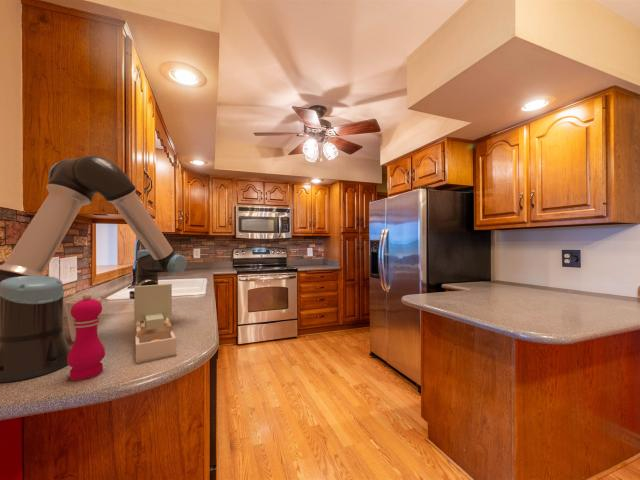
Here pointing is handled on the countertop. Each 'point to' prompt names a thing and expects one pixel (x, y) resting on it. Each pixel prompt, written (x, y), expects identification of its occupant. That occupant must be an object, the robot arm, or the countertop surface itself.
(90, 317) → the pepper mill
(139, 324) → the launcher
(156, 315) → the lid
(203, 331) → the countertop surface
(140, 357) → the open beige box
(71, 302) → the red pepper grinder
